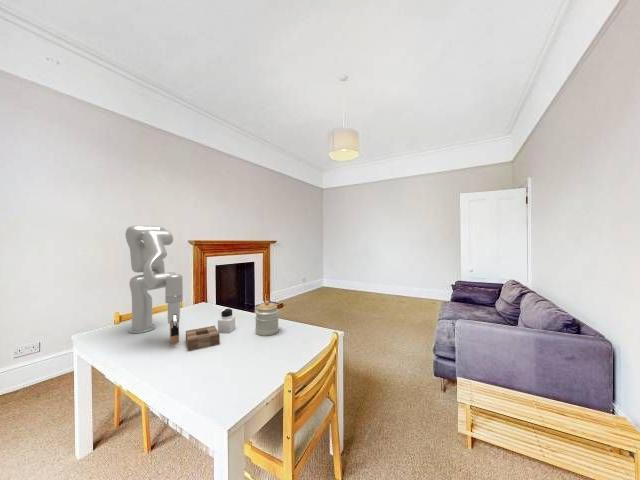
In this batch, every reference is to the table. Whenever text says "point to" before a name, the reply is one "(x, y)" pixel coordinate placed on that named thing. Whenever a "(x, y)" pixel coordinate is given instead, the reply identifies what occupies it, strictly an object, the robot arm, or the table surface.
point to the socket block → (202, 338)
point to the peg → (174, 338)
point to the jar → (266, 319)
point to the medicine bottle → (226, 321)
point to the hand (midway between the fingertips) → (174, 332)
